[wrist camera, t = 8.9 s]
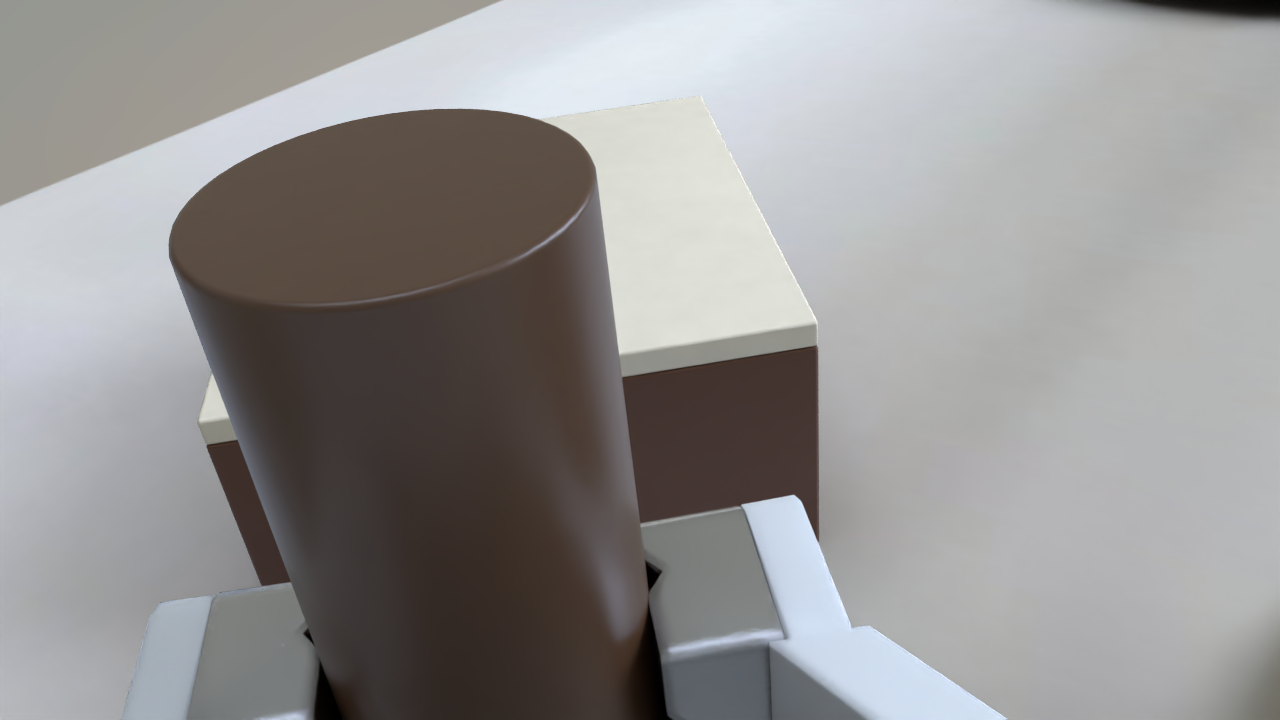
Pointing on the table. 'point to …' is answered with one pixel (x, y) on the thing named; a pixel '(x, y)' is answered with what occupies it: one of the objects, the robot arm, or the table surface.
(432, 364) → the knife
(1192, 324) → the table surface
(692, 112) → the cake
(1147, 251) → the table surface
